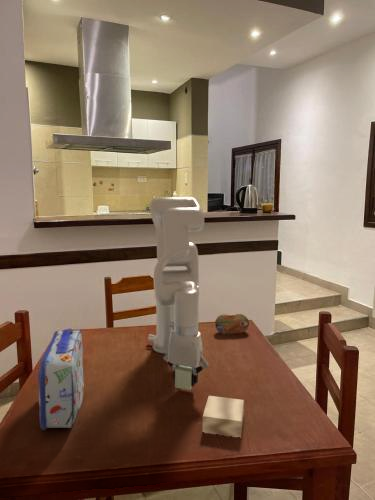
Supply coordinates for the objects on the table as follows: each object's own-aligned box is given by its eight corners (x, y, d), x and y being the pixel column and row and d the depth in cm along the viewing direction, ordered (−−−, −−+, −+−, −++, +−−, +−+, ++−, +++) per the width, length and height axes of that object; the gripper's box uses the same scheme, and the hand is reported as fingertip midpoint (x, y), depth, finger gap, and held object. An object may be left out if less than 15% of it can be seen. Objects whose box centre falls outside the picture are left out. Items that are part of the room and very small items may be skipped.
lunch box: (52, 385, 121) (48, 320, 117) (85, 382, 123) (83, 318, 119) (36, 441, 94) (31, 359, 90) (79, 436, 96) (75, 356, 92)
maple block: (202, 433, 98) (202, 416, 97) (208, 411, 108) (208, 395, 107) (240, 439, 96) (241, 421, 95) (243, 416, 106) (243, 399, 105)
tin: (215, 334, 164) (215, 316, 163) (214, 331, 167) (214, 313, 166) (248, 333, 166) (249, 314, 164) (246, 330, 169) (247, 312, 168)
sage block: (175, 387, 116) (175, 369, 115) (180, 379, 121) (180, 361, 119) (190, 390, 114) (190, 372, 113) (195, 382, 119) (195, 364, 118)
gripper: (155, 328, 113) (155, 383, 117) (209, 337, 107) (207, 394, 111) (165, 320, 120) (165, 372, 124) (216, 327, 114) (214, 381, 118)
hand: (185, 382), depth 117 cm, fingers closed on sage block, 5 cm apart
